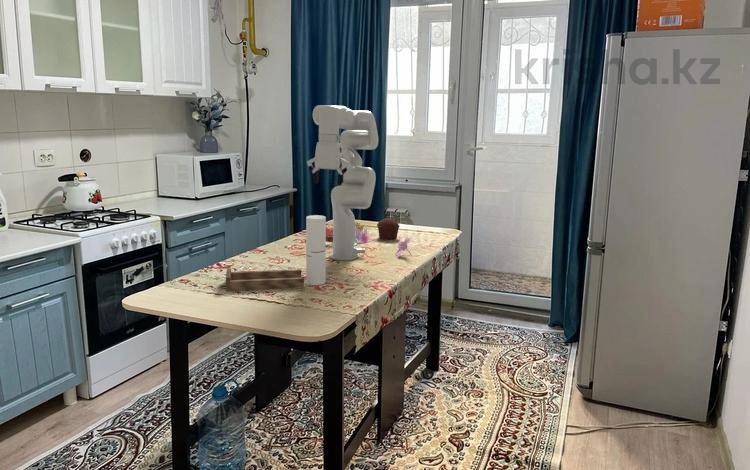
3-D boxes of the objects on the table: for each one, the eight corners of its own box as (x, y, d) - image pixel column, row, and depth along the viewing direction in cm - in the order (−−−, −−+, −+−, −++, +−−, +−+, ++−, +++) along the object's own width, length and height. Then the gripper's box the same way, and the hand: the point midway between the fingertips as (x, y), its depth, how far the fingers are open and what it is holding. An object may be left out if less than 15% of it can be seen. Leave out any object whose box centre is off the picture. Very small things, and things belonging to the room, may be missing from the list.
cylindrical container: (322, 285, 208) (322, 219, 203) (303, 284, 210) (303, 218, 204) (327, 280, 215) (328, 215, 209) (309, 278, 216) (309, 214, 211)
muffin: (403, 238, 287) (404, 218, 285) (392, 242, 278) (392, 222, 275) (383, 234, 293) (384, 215, 291) (371, 238, 284) (372, 219, 282)
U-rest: (301, 278, 217) (301, 265, 216) (304, 287, 205) (304, 274, 204) (227, 280, 211) (227, 268, 210) (226, 291, 200) (225, 277, 198)
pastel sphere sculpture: (322, 235, 290) (322, 217, 288) (368, 236, 290) (368, 218, 288) (316, 247, 266) (316, 227, 264) (366, 248, 265) (366, 229, 263)
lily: (399, 253, 260) (391, 238, 257) (420, 246, 257) (413, 231, 253) (396, 266, 251) (387, 251, 247) (418, 260, 247) (410, 243, 244)
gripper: (353, 139, 214) (352, 184, 218) (311, 137, 219) (310, 181, 222) (347, 140, 207) (346, 186, 211) (303, 138, 212) (303, 183, 215)
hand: (328, 184), depth 217 cm, fingers open, 9 cm apart
